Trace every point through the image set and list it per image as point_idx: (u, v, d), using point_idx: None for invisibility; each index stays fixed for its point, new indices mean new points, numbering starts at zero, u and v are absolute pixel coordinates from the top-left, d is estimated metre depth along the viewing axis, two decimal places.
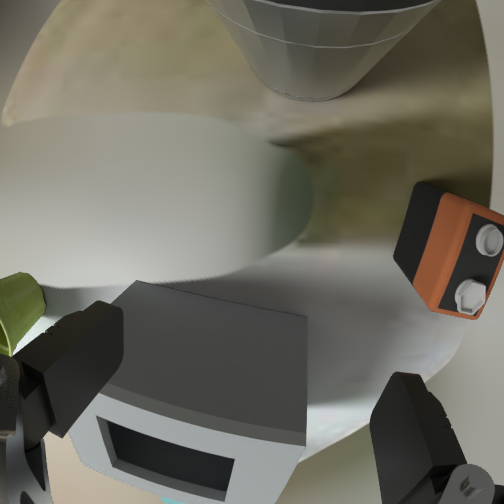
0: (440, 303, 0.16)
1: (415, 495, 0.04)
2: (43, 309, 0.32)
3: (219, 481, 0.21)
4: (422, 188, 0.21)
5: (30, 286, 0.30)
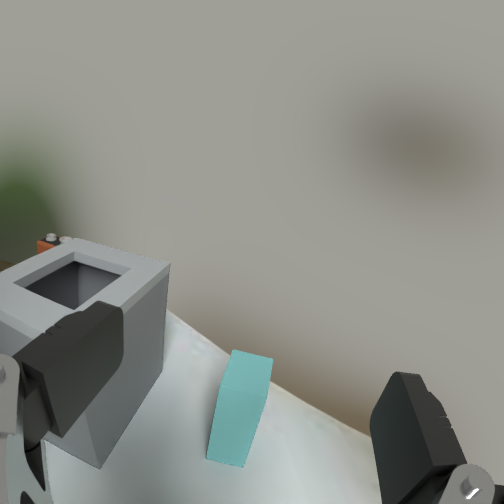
0: None
1: (415, 495, 0.04)
2: None
3: None
4: None
5: None
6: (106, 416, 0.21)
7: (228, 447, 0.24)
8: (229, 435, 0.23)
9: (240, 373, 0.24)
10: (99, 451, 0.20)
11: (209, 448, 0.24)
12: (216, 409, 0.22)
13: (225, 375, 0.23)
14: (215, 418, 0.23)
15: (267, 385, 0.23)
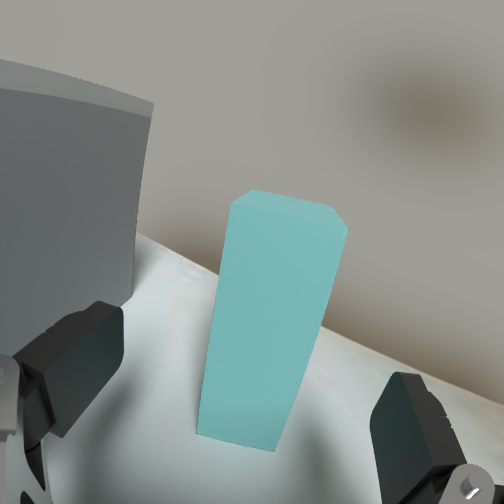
0: None
1: (415, 495, 0.04)
2: None
3: None
4: None
5: None
6: None
7: (244, 403, 0.11)
8: (248, 367, 0.11)
9: (274, 202, 0.11)
10: None
11: (203, 407, 0.12)
12: (220, 284, 0.10)
13: (243, 198, 0.11)
14: (217, 315, 0.10)
15: (339, 219, 0.10)
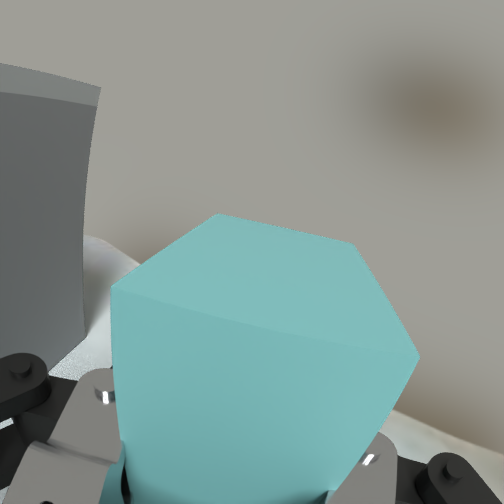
0: None
1: None
2: None
3: None
4: None
5: None
6: None
7: None
8: None
9: (242, 256, 0.05)
10: None
11: None
12: (125, 436, 0.04)
13: (166, 254, 0.05)
14: (133, 471, 0.04)
15: (385, 303, 0.04)
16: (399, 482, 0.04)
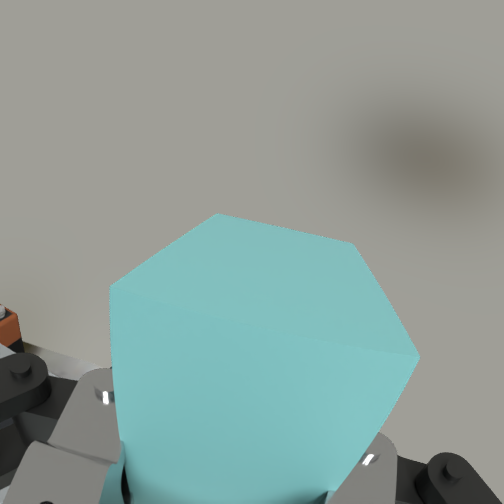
0: None
1: None
2: None
3: None
4: None
5: None
6: None
7: None
8: None
9: (241, 256, 0.05)
10: None
11: None
12: (124, 436, 0.04)
13: (165, 255, 0.05)
14: (132, 471, 0.04)
15: (385, 303, 0.04)
16: (399, 482, 0.04)
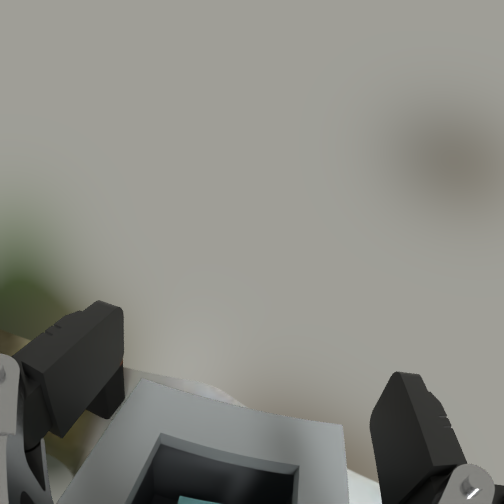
0: None
1: (415, 495, 0.04)
2: None
3: None
4: None
5: None
6: None
7: None
8: None
9: None
10: None
11: None
12: None
13: None
14: None
15: None
16: None
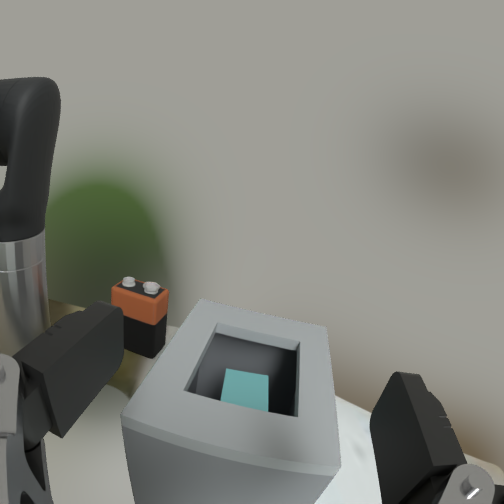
0: (152, 298, 0.38)
1: (415, 495, 0.04)
2: None
3: None
4: None
5: None
6: None
7: None
8: None
9: (237, 393, 0.22)
10: None
11: None
12: None
13: (222, 397, 0.22)
14: None
15: (266, 404, 0.22)
16: None
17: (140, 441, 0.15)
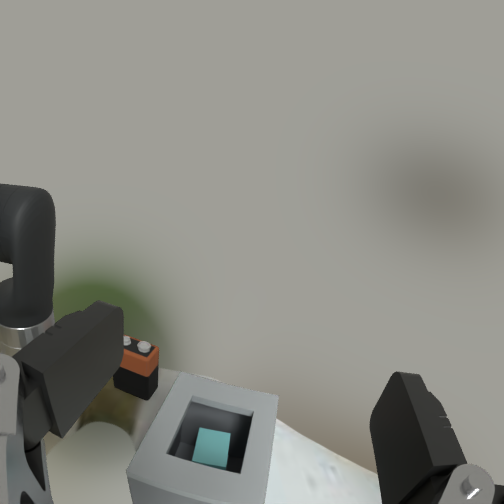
0: (145, 356, 0.44)
1: (415, 495, 0.04)
2: None
3: None
4: (114, 379, 0.46)
5: None
6: None
7: None
8: None
9: (205, 448, 0.29)
10: None
11: None
12: None
13: (195, 451, 0.28)
14: None
15: (226, 457, 0.28)
16: None
17: (139, 484, 0.21)
